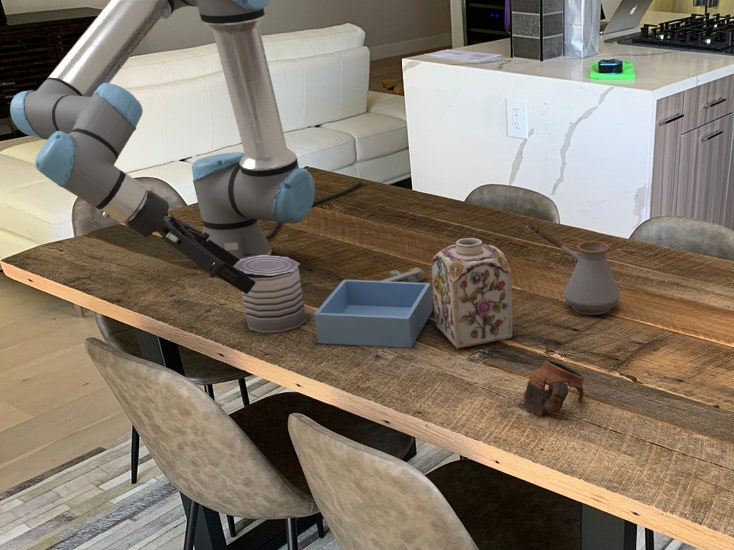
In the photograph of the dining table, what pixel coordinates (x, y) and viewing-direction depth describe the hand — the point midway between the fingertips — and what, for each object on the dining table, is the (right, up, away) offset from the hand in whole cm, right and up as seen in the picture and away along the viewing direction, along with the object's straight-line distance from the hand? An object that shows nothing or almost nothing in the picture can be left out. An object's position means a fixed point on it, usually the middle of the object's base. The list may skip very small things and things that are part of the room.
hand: (243, 276), depth 162 cm
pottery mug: (+58, -25, -21) cm, 67 cm away
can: (+4, -8, +7) cm, 11 cm away
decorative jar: (+43, -10, +4) cm, 44 cm away
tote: (+24, -9, +6) cm, 26 cm away
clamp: (+24, +1, +23) cm, 33 cm away
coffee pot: (+61, -3, +17) cm, 63 cm away
